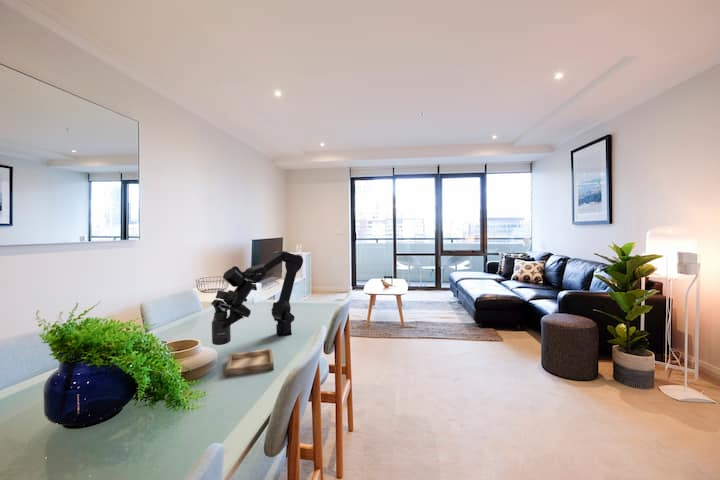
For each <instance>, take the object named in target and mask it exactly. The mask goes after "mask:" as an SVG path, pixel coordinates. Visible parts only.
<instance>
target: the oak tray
mask: <svg viewBox="0 0 720 480" xmlns="http://www.w3.org/2000/svg"><path fill="white" fill-rule="evenodd" d="M273 356H274V355H273V349H272V348H268V349H260V350H253V351H244V352H238V353H229V354H228V358H227V363H226V368H225V378H229V377H235V376H236V377H237V376H241V375H248V374H249V375H250V374H255V373H256V374H257V373H261V372H267V371H268V372H269V371H274V369H275V368H274V367H275V365H274V357H273Z"/></svg>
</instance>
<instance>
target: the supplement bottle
mask: <svg viewBox="0 0 720 480" xmlns="http://www.w3.org/2000/svg"><path fill="white" fill-rule="evenodd" d="M213 314H214V315H213V318H215V319H214V320H213V319H212V321H211V343H212V344H213V345H214V346H222V345H223V346H224V345H227V344H229V343H230V342H231V341H232V339H231V337H232V335H231V333H232V331H231V330H232V329H231V328H232V327H231V325H230V326H229V327H227V328H225V329H223V328H222V327H223V325H224V323H225V322H226V320H227V318H228V316H229V315H228V310H227V311H218V312H214V313H213Z"/></svg>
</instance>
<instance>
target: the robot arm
mask: <svg viewBox="0 0 720 480" xmlns="http://www.w3.org/2000/svg"><path fill="white" fill-rule="evenodd" d="M282 262H283V263H284V266H285V270H286V272H285V274H284V275H285V276H284V279H283V284H282V287H281V290H280V294H279V298H278V300H277V301H276V302H273V304H272V308H271V310H270V311H271V316H272V318H273V320H274V322H277V323H276V325H275V327H276V331H275V332H276V334H277V336H278V337H283V336H291V335H293V333H292V322H294V321H295V316H294V315H293V314H292V312H291V309H292V308H291V304H290V300H291V295H292V292H293V287H294V284H295V280H296V277H297V274H298V272H299V271H300V270H301V268H302V266H303V263H304V259H303V256H302V255H300V254H294V253H290V252H288V251H284V250H279V251H278V252H276V253H274V255H272V256H271V257H269V258H267V259H266V260H264V261H263V262H261V263H260V264H256V265H252V266H250V267H248V268H246V269H245V270H244V271H241V269H240V268H239V267H238V266H235V265H234V266H232V267H231V268H229V269H227V270H226V271H225V272H224V274H223V276H222V277H223V280H225V281H226V282H227V283H228V284H229V285H230V286H231V287H233V288H235V289H234V290H230V289H228V291H225V290H217V293H216V294H215V295H216V296H215V299H214V300H213V301H212V302H211V303H210V304H211V306H213V309H214V311H215V312H218V311H227V312H228V311H229V315H228V317H227V320H226V322H225V323H224V325H223V327H222V328H223V329H225V328H227V327H229V326H230V327H231V325H233V324H235V323H236V322H238V321H239V320H242V319H244V318H250V315H251V314H252V313H251V312H252V311H251V309H250V308H248V307H247V306H246V305H245V304H243V303H244V302H245V303H247V302H248V299H247V297H249V294H250V293H251V291H257V290H258V289H257V288H258V287H257V284H256V283H258V282H261V281H262V280H263V279H264V278H265V277H266V276H267V273H268V272H269V271H270V270H273V268H276V267H277V266H278V265H279V264H281V263H282ZM252 282H256V283H252ZM215 312H214V313H215ZM214 319H215V318H214V317H213V319H212V321H213V320H214Z"/></svg>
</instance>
